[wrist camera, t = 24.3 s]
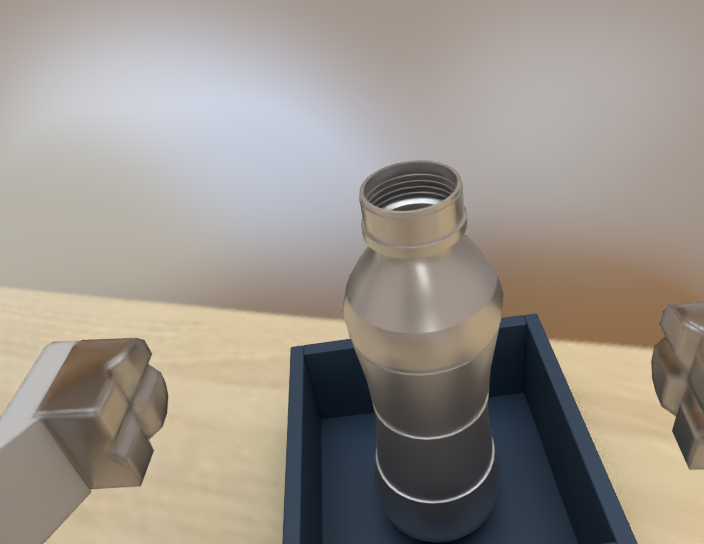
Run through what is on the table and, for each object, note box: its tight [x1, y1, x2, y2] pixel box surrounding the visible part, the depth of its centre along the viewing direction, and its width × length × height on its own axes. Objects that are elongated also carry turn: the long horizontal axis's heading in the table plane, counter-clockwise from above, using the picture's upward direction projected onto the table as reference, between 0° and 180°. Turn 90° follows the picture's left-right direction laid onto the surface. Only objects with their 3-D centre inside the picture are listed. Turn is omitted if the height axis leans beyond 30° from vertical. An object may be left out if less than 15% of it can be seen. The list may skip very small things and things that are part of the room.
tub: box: [283, 314, 637, 544], centre depth 32 cm, size 15×15×7 cm
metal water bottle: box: [343, 161, 503, 543], centre depth 28 cm, size 6×7×20 cm
